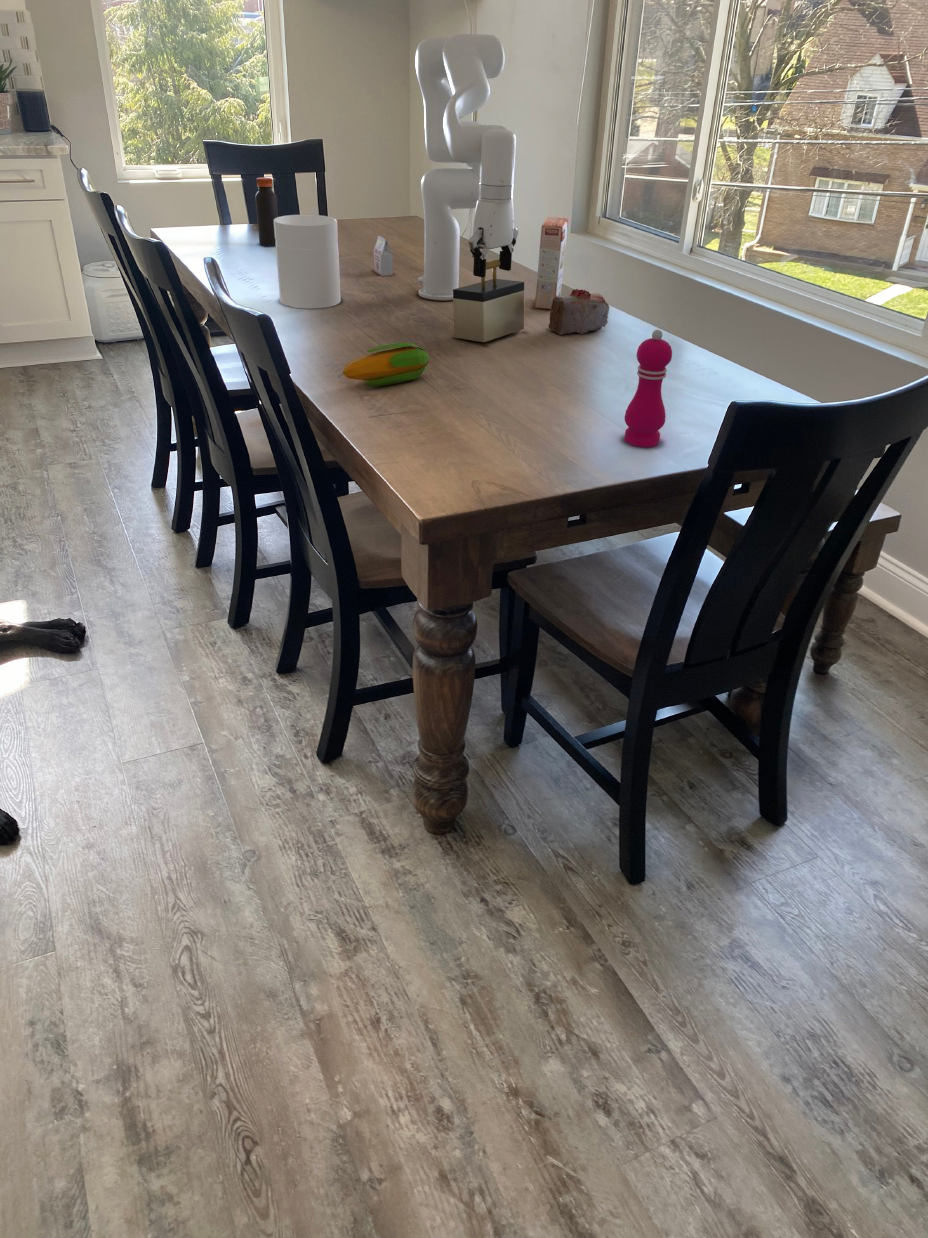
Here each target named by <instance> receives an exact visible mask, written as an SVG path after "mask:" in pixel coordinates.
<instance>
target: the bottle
mask: <svg viewBox="0 0 928 1238" xmlns="http://www.w3.org/2000/svg"><path fill="white" fill-rule="evenodd" d="M273 185H274V183H273V178H272V177H257V178H256V186H257V189H258V191H257V192H256V194H255V199H254V200H255V210H256V221H257V230H258V241H259V245H260V246H262V247H276V244H275V243H276V239H275V232H274V219H275V218H277V217H279V212H278V211H279V210H278V198H277V195H276V194H275V192H274V191H273Z"/></svg>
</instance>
